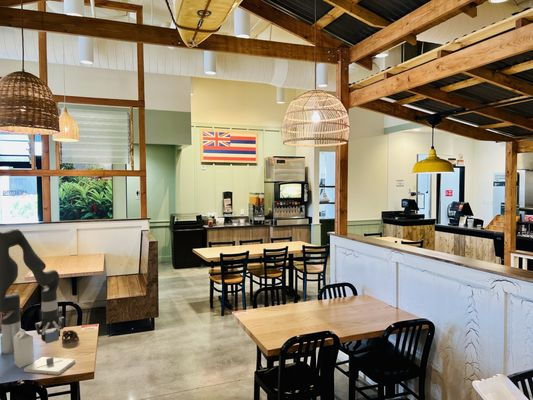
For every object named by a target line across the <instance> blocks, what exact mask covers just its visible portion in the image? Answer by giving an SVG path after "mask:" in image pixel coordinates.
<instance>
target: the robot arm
mask: <svg viewBox="0 0 533 400" xmlns="http://www.w3.org/2000/svg"><path fill="white" fill-rule="evenodd" d="M15 246H19V247H20V248H21V249H22V258H23V259H22V260H23V262H24V264H25V266H26V267H27V268H28V269H29V270H30V272H32V275H33V277H34V279H35V281H36V283H37V284H38V285H39V286H41V287H46V288H44V289H43V290H41V293H40V295H41V296H40V297H41V303H40V304H41V308H40V310H41V321H40V322H35V323H34V325H35V330H36V334H37V335H38V336H39V335H41V338H40V339H41V340H42V342H45V332H46V330H48V329H51V328H56V329H57V330H58V332H59V337H61V330H64V328H65V323H66V321H65V320H66V318H65V317H64V316H61V317H59V308H58V298H57V297H58V296H57V293H58V292H57V290H58V286H59V282H60V275H59V272H58V271H57V270H55V269H50V270H48V271H45V269H46V267H47V266H46V263H45V261H43V260H42V259H41V257H40V256H39V255H38V254H37V253H36V252H35V250H34V249H33V248H32V245H31V244H30V243H29V241H28V239H27V237H25V234H24V233H23V232H22V231H21V230H20V229H19V228H15V227H14V228H10V229H7V230H3V231H0V313H5V312H10V313H8V314H6V315H4V316H3V317H2V318H1V319H0V323H1V324H0V325H1V335H0V351H1V353H3V354H5V355H12V354H14V339H13V337H14V336H15V335H16V334H17V333H18V332H19V331H20V328H21V327H22V325H21V298H20V295H19V294H18V293H15V292H14V293H9V294H7V292H8V291H9V289H10V287H12V286H13V284H14V283H15V282H16V280H17V278H18V276H19V265H18V263H17V262H16V260H15V259H13V258H12V257H11V256H10V252H9V250H10V248H12V247H15ZM59 322H60V326H59V325H58V323H59ZM41 326H43V327H42V329H40V327H41Z"/></svg>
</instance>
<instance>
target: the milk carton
mask: <svg viewBox="0 0 533 400" xmlns="http://www.w3.org/2000/svg"><path fill="white" fill-rule="evenodd" d="M13 339H14V353H13V354H14V355H13V356H14V364H15V365H16V366H17V368H19V369H21V368H24V367H27V366H29V365H30V364H32V363H34V362H35V357H34V336H33V335H32V334H30V333H29V332H27V331H26V330H25V329H22V328H20V331H19V332H18V333H17V334H16V335H15V336H14V337H13Z"/></svg>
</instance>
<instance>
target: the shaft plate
mask: <svg viewBox="0 0 533 400" xmlns="http://www.w3.org/2000/svg"><path fill="white" fill-rule="evenodd" d="M75 363H76V359H74V358H61V357H54V356H51V357H47V356H42V357H40V358H38V359H37V360H34V363H32V364H29V365H26V366H25V368H24V367H23V372H24V373H26V372H27V373H37V374H47V373H48V375H60V374H61V373H63V372H64V371H65V370H67V369H68V368H69V367H71V366H72V365H73V364H75Z"/></svg>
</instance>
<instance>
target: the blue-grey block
mask: <svg viewBox="0 0 533 400" xmlns="http://www.w3.org/2000/svg"><path fill="white" fill-rule="evenodd" d="M59 338H60V336H59V332H58V330H57V329H56V327H52V328H48V329H47V330H46V332H45V341H44V343H45V344H46V345H48V344H50V343H54V342H58V341H59V340H60V339H59Z"/></svg>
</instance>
